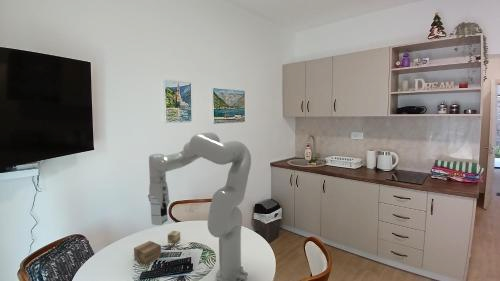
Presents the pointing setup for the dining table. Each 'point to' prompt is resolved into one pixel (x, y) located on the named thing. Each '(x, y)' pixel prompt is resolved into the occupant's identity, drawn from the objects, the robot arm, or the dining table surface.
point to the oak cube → (174, 237)
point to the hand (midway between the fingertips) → (159, 213)
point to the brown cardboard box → (147, 252)
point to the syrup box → (156, 212)
